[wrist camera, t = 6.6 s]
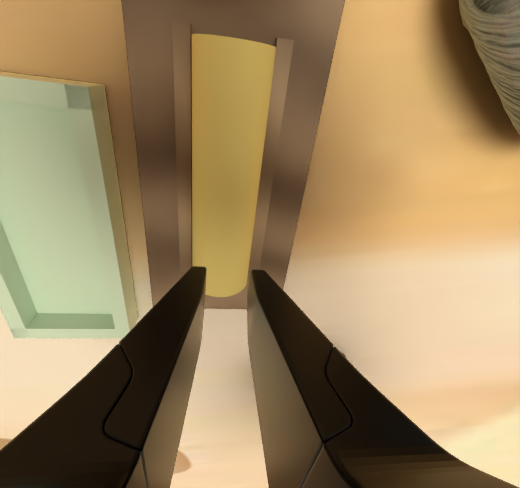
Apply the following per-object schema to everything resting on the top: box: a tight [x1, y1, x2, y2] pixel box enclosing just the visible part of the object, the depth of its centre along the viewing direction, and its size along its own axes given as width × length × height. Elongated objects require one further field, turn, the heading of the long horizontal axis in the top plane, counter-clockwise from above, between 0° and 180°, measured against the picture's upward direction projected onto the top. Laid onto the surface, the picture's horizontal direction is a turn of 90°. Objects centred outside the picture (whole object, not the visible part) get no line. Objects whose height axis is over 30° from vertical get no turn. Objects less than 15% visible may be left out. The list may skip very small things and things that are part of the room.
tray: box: [0, 71, 138, 338], centre depth 18 cm, size 17×8×2 cm, turn 173°
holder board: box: [121, 0, 345, 309], centre depth 17 cm, size 22×10×1 cm, turn 173°
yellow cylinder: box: [192, 34, 276, 297], centre depth 15 cm, size 13×4×4 cm, turn 173°
